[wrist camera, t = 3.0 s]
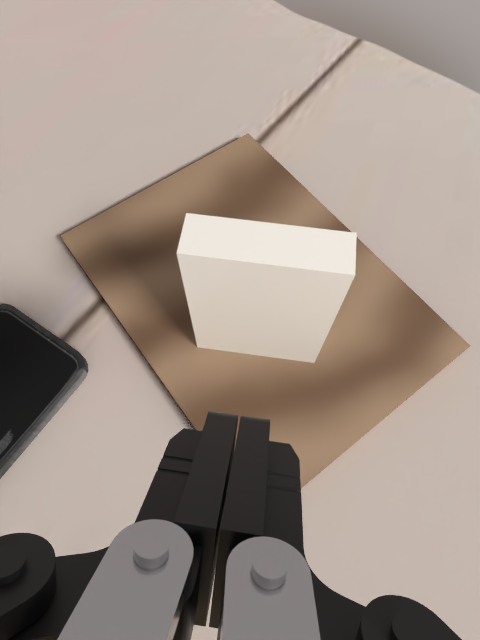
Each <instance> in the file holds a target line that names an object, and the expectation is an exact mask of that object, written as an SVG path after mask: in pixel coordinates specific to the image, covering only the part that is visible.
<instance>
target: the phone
mask: <svg viewBox="0 0 480 640" xmlns="http://www.w3.org/2000/svg"><path fill="white" fill-rule="evenodd" d="M87 373H88V364H87V361H86V359H85V358H84V357H83V356H82V355H81V354H80V353H79V352H78V351H77V350H75V349H74V348H72V347H71V346H69V345H68V344H67V343H65V342H64V341H62V340H61V339H59V338H58V337H56V336H55V335H54V334H52V333H51V332H49V331H48V330H46V329H45V328H44V327H42V326H41V325H39V324H38V323H36V322H35V321H33V320H32V319H31V318H29V317H28V316H26V315H25V314H23V313H22V312H21V311H19V310H18V309H16V308H15V307H13V306H11V305H8V304H1V305H0V478H1V477H2V476H3V475H4V474H5V473H6V471H7V470H8V469H9V468H10V467H11V465H12V464H13V463H14V462H15V461H16V460H17V458H18V457H19V456H20V455H21V454H22V453H23V451H24V450H25V449H26V448H27V447H28V445H29V444H30V443H31V442H32V441H33V440H34V438H35V437H36V436H37V435H38V434H39V433H40V431H41V430H42V429H43V428H44V427H45V426H46V424H47V423H48V422H49V421H50V420H51V418H52V417H53V416H54V415H55V414H56V413H57V411H58V410H59V409H60V408H61V407H62V406H63V404H64V403H65V402H66V401H67V400H68V398H69V397H70V396H71V395H72V394H73V393H74V391H75V390H76V389H77V388H78V387H79V386H80V384H81V383H82V382H83V381H84V379H85V378H86V376H87Z"/></svg>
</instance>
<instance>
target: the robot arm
mask: <svg viewBox="0 0 480 640" xmlns="http://www.w3.org/2000/svg"><path fill="white" fill-rule="evenodd" d="M237 425H238V415H235V414H228V413H221V412H214V411H209V412H208V414H207V418H206V421H205V424H204V427H203V430H202V431H198V430H191V429H185V428H184V429H182V430H181V431H180V432H179V433H178V434H176V435H175V436H174V437H173V438H172V439H170V441H169V443H168V445H167V448H166V450H165V452H164V455H163V458H162V460H161V462H160V464H159V467H158V471H156V474H155V476H154V479H153V481H152V483H151V486H150V488H149V490H148V493H147V495H146V497H145V500H144V502H143V505H142V507H141V509H140V512H139V514H138V516H137V519H136V521H135V523H134V524H132V525H130V526H128V527H126V528H125V529H123V530H122V531H121V532H120V533H119V534H118V535H117V536H116V537H115V538H114V540H113V541H112V543H111V544H110V546H109V547H106V548H104V549H101V550H98V551H95V552H90V553H83V554H75V555H67V556H59V557H55V553H54V549H53V547H52V546H51V544H50V543H49V542H48V541H47V540H46V539H44V538H43V537H40V536H38V535H35V534H30V533H14V534H8V535H4V536H1V537H0V640H191V635H192V630H193V625H200V626H206V621H207V615H208V609H209V603H210V598H211V592H212V586H213V581H214V588H213V597H212V606H211V615H210V623H209V627H213V628H218V636H217V640H462V639H460V638H459V637H458V636H457V635H456V634H455V633H454V632H453V631H452V630H451V629H450V628H449V627H448V626H447V625H446V624H445V623H444V622H443V621H442V620H441V619H440V618H439V617H438V616H437V615H436V614H434V613H433V612H432V611H431V610H429V609H428V608H427V607H425V606H424V605H422V604H420V603H418V602H416V601H414V600H412V599H409V598H406V597H402V596H396V595H385V596H381V597H378V598H376V599H374V600H372V601H371V602H370V603H369V604H368V605H367V607H365V606H363V605H360V604H358V603H356V602H354V601H352V600H350V599H348V598H346V597H344V596H342V595H340V594H338V593H336V592H334V591H333V590H331V589H330V588H328V587H327V586H326V585H325V584H323V583H322V582H321V581H320V580H319V579H318V578H317V577H316V575H315V574H314V573H313V571H312V570H311V569H310V567H309V565H308V563H307V561H306V558H305V555H304V548H303V526H302V504H301V482H300V460H299V458H298V456H297V454H296V453H295V451H294V450H293V448H292V446H291V445H290V444H288V443H281V442H274V441H269V435H270V419H263V418H257V417H250V416H243V415H241V417H240V422H239V428H238V434H237V439H236V433H237ZM235 441H236V445H235ZM215 569H216V571H215ZM214 575H215V580H214Z"/></svg>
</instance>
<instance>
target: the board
mask: <svg viewBox="0 0 480 640" xmlns="http://www.w3.org/2000/svg"><path fill="white" fill-rule="evenodd" d="M186 213H191V214H199V215H208V216H216V217H225V218H234V219H242V220H251V221H259V222H268V223H276V224H285V225H293V226H302V227H311V228H319V229H328V230H336V231H345V232H351V231H350V230H349V229H348V228H347V227H346V226H344V225H343V224H342V223H341V222H340V221H339V220H338V219H337V218H336V217H335V216H334V215H333V214H332V213H331V212H330V211H329V210H328V209H327V208H326V207H325V206H324V205H323V204H321V203H320V202H319V201H318V200H317V199H316V198H315V197H314V196H313V195H312V194H311V193H310V192H309V191H308V190H307V189H306V188H305V187H304V186H303V185H302V184H301V183H300V182H298V181H297V180H296V179H295V178H294V177H293V176H292V175H291V174H290V173H289V172H288V171H287V170H286V169H285V168H284V167H283V166H282V165H281V164H280V163H279V162H278V161H276V160H275V159H274V158H273V157H272V156H271V155H270V154H269V153H268V152H267V151H266V150H265V149H264V148H263V147H262V146H261V145H260V144H259V143H258V142H257V141H256V140H255V139H253V138H252V137H251V136H250V135H249V134H246V135H244V136H242V137H241V138H239V139H237V140H235V141H233V142H231V143H230V144H228V145H226V146H224V147H222V148H220V149H218V150H217V151H215V152H213V153H211V154H209V155H207V156H206V157H204V158H202V159H200V160H198V161H196V162H195V163H193V164H191V165H189V166H187V167H185V168H184V169H182V170H180V171H178V172H176V173H174V174H173V175H171V176H169V177H167V178H165V179H163V180H162V181H160V182H158V183H156V184H154V185H152V186H151V187H149V188H147V189H145V190H143V191H141V192H140V193H138V194H136V195H134V196H132V197H130V198H129V199H127V200H125V201H123V202H121V203H119V204H118V205H116V206H114V207H112V208H110V209H108V210H107V211H105V212H103V213H101V214H99V215H97V216H95V217H94V218H92V219H90V220H88V221H86V222H84V223H83V224H81V225H79V226H77V227H75V228H73V229H72V230H70V231H68V232H66V233H64V234H62V235H61V238H62V240H63V241H64V243H65V245H66V246H67V247H68V249H69V250H70V252H71V253H72V255H73V256H74V257H75V259H76V260H77V262H78V263H79V265H80V266H81V267H82V269H83V270H84V272H85V273H86V274H87V276H88V277H89V279H90V280H91V282H92V283H93V284H94V286H95V287H96V289H97V290H98V292H99V293H100V294H101V296H102V297H103V299H104V300H105V302H106V303H107V304H108V306H109V307H110V309H111V310H112V311H113V313H114V314H115V316H116V317H117V319H118V320H119V321H120V323H121V324H122V326H123V327H124V329H125V330H126V331H127V333H128V334H129V336H130V337H131V339H132V340H133V341H134V343H135V344H136V346H137V347H138V349H139V350H140V351H141V353H142V354H143V356H144V357H145V358H146V360H147V361H148V363H149V364H150V366H151V367H152V368H153V370H154V371H155V373H156V374H157V376H158V377H159V378H160V380H161V381H162V383H163V384H164V386H165V387H166V388H167V390H168V391H169V393H170V394H171V396H172V397H173V398H174V400H175V401H176V403H177V404H178V405H179V407H180V408H181V410H182V411H183V413H184V414H185V415H186V417H187V418H188V420H189V421H190V423H191V424H192V425H193V427H194V428H195V430H198V431H202V430H203V427H204V424H205V421H206V418H207V414H208V412H209V411H214V412H221V413H228V414H235V415H238V425H237V433H236V439H237V434H238V428H239V422H240V417H241V415H243V416H250V417H257V418H263V419H270V435H269V441H274V442H281V443H288V444H290V445H291V446H292V448H293V450H294V451H295V453H296V454H297V456H298V458H299V460H300V482H301V488H302V487H303V486H304V485H306V484H307V483H308V482H309V481H310V480H311V479H313V478H314V477H315V476H316V475H317V474H319V473H320V472H321V471H322V470H323V469H325V468H326V467H327V466H328V465H329V464H331V463H332V462H333V461H334V460H335V459H336V458H338V457H339V456H340V455H341V454H342V453H344V452H345V451H346V450H347V449H348V448H350V447H351V446H352V445H353V444H354V443H355V442H357V441H358V440H359V439H360V438H361V437H363V436H364V435H365V434H366V433H367V432H369V431H370V430H371V429H372V428H373V427H374V426H376V425H377V424H378V423H379V422H380V421H382V420H383V419H384V418H385V417H386V416H388V415H389V414H390V413H391V412H392V411H394V410H395V409H396V408H397V407H398V406H399V405H401V404H402V403H403V402H404V401H405V400H407V399H408V398H409V397H410V396H411V395H413V394H414V393H415V392H416V391H417V390H418V389H420V388H421V387H422V386H423V385H424V384H426V383H427V382H428V381H429V380H430V379H432V378H433V377H434V376H435V375H436V374H437V373H439V372H440V371H441V370H442V369H443V368H445V367H446V366H447V365H448V364H449V363H451V362H452V361H453V360H454V359H455V358H457V357H458V356H459V355H460V354H461V353H462V352H464V351H465V350H466V349H467V348H468V347H470V345H469V344H468V343H467V342H466V341H465V340H464V339H463V338H462V337H461V336H460V335H458V334H457V333H456V332H455V331H454V330H453V329H452V328H451V327H450V326H449V325H448V324H447V323H446V322H445V321H444V320H443V319H442V318H441V317H440V316H439V315H438V314H437V313H435V312H434V311H433V310H432V309H431V308H430V307H429V306H428V305H427V304H426V303H425V302H424V301H423V300H422V299H421V298H420V297H419V296H418V295H417V294H416V293H415V292H414V291H412V290H411V289H410V288H409V287H408V286H407V285H406V284H405V283H404V282H403V281H402V280H401V279H400V278H399V277H398V276H397V275H396V274H395V273H394V272H393V271H392V270H390V269H389V268H388V267H387V266H386V265H385V264H384V263H383V262H382V261H381V260H380V259H379V258H378V257H377V256H376V255H375V254H374V253H373V252H372V251H371V250H370V249H369V248H367V247H366V246H365V245H364V244H363V243H362V242H361V241H360V240H359V239H358V238H357V239H356V269H355V277H354V279H353V281H352V283H351V285H350V288H349V290H348V292H347V294H346V296H345V298H344V300H343V303H342V305H341V307H340V309H339V311H338V313H337V315H336V318H335V320H334V322H333V324H332V326H331V328H330V330H329V333H328V335H327V337H326V339H325V341H324V343H323V345H322V348H321V350H320V352H319V354H318V356H317V358H316V360H315V363H311V362H304V361H296V360H289V359H281V358H274V357H266V356H259V355H251V354H244V353H236V352H229V351H221V350H214V349H206V348H199V347H197V343H196V339H195V334H194V330H193V325H192V321H191V316H190V312H189V307H188V303H187V298H186V294H185V289H184V285H183V280H182V276H181V271H180V267H179V262H178V258H177V249H178V245H179V241H180V237H181V233H182V228H183V224H184V220H185V216H186ZM235 445H236V441H235Z"/></svg>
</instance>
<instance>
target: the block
mask: <svg viewBox="0 0 480 640" xmlns="http://www.w3.org/2000/svg"><path fill="white" fill-rule="evenodd" d="M356 239H357V233H353V232H345V231H336V230H328V229H319V228H311V227H302V226H293V225H285V224H276V223H268V222H259V221H251V220H242V219H234V218H225V217H216V216H208V215H199V214H191V213H186V216H185V220H184V224H183V228H182V233H181V237H180V241H179V245H178V249H177V258H178V262H179V267H180V271H181V276H182V280H183V285H184V289H185V294H186V298H187V303H188V307H189V312H190V316H191V321H192V325H193V330H194V334H195V339H196V343H197V347H199V348H206V349H214V350H221V351H229V352H236V353H244V354H251V355H259V356H266V357H274V358H281V359H289V360H296V361H304V362H311V363H315V360H316V358H317V356H318V354H319V352H320V350H321V348H322V345H323V343H324V341H325V339H326V337H327V335H328V333H329V330H330V328H331V326H332V324H333V322H334V320H335V318H336V315H337V313H338V311H339V309H340V307H341V305H342V303H343V300H344V298H345V296H346V294H347V292H348V290H349V288H350V285H351V283H352V281H353V279H354V277H355V269H356Z"/></svg>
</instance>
